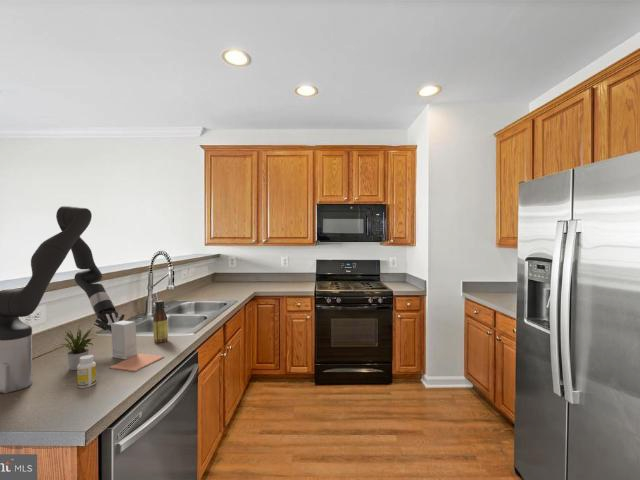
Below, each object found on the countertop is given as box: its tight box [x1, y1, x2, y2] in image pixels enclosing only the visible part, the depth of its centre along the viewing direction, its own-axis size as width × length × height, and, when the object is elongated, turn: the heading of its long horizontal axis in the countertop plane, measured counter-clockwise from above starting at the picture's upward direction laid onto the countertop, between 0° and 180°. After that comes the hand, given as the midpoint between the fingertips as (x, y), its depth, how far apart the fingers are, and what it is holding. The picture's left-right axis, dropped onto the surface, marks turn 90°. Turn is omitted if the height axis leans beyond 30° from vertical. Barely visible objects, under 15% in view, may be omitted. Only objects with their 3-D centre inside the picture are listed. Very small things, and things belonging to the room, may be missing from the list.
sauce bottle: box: [152, 299, 169, 344], centre depth 168 cm, size 7×6×20 cm
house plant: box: [53, 325, 95, 371], centre depth 133 cm, size 14×14×16 cm
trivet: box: [109, 352, 165, 373], centre depth 140 cm, size 16×12×1 cm
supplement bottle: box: [76, 354, 97, 389], centre depth 119 cm, size 5×5×10 cm
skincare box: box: [110, 319, 138, 360], centre depth 146 cm, size 8×6×15 cm
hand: (117, 335), depth 149 cm, fingers closed
